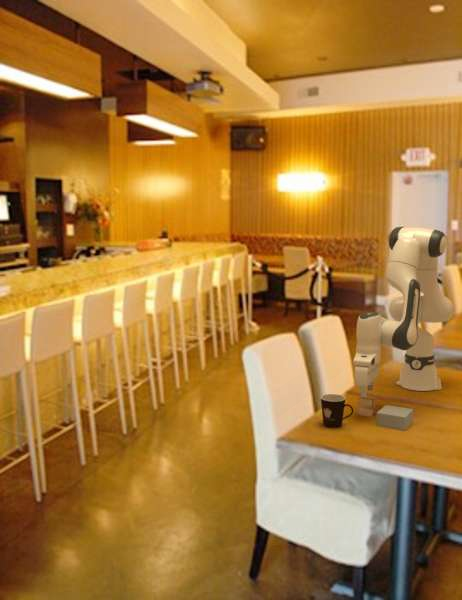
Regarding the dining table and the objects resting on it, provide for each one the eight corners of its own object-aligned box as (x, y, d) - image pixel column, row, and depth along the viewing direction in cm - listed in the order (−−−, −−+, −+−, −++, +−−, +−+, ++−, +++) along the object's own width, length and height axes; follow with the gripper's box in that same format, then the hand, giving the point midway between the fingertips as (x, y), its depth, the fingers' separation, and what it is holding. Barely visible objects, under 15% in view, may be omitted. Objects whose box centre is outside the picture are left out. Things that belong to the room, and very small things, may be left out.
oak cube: (361, 411, 227) (362, 395, 226) (374, 412, 225) (375, 397, 224) (357, 414, 223) (358, 399, 222) (371, 416, 220) (371, 401, 219)
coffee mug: (315, 423, 214) (315, 395, 213) (336, 419, 218) (336, 392, 216) (333, 433, 204) (334, 405, 202) (355, 429, 207) (355, 401, 206)
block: (385, 418, 220) (386, 404, 219) (413, 422, 214) (413, 409, 214) (376, 426, 211) (376, 412, 210) (404, 431, 206) (405, 417, 205)
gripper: (367, 350, 231) (366, 385, 232) (351, 361, 213) (351, 399, 214) (383, 352, 228) (382, 387, 229) (369, 362, 210) (368, 401, 211)
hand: (367, 393), depth 222 cm, fingers open, 8 cm apart
